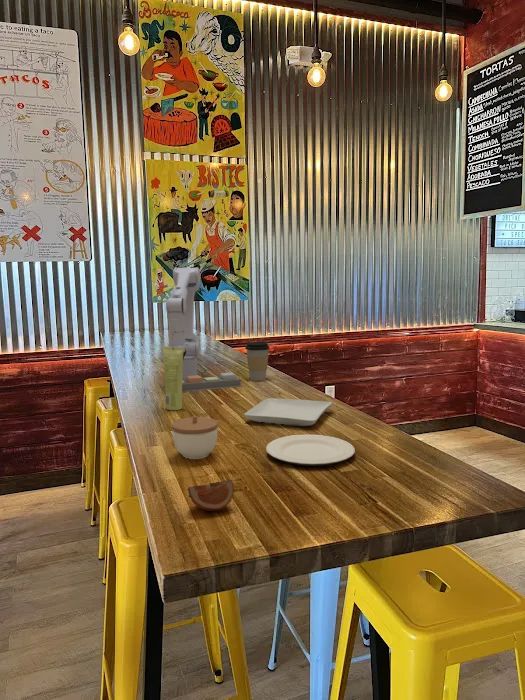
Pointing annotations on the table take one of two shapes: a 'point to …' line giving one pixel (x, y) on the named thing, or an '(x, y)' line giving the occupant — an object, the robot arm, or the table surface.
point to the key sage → (210, 379)
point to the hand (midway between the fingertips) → (178, 369)
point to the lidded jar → (195, 436)
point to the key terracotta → (193, 379)
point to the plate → (310, 450)
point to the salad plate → (288, 411)
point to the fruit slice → (212, 495)
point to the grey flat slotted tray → (210, 385)
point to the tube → (173, 377)
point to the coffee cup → (257, 360)
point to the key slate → (227, 376)
